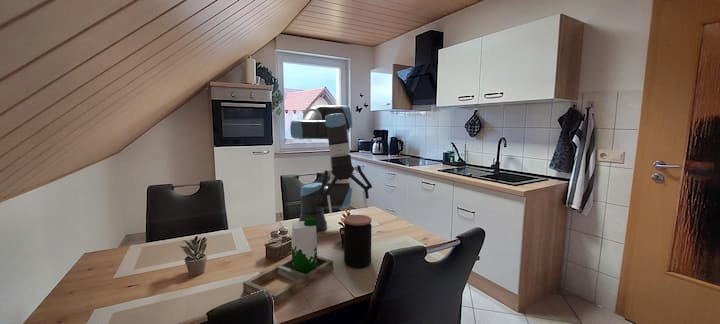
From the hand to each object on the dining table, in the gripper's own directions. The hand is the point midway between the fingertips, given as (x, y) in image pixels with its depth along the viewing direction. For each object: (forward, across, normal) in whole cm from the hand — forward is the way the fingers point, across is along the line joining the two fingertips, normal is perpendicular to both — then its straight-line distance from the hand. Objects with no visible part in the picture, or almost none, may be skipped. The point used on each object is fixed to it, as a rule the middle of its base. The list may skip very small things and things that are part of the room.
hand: (348, 209), depth 116 cm
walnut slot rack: (+19, -23, -10) cm, 31 cm away
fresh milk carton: (+19, -19, -5) cm, 28 cm away
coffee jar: (+22, 0, +1) cm, 22 cm away
